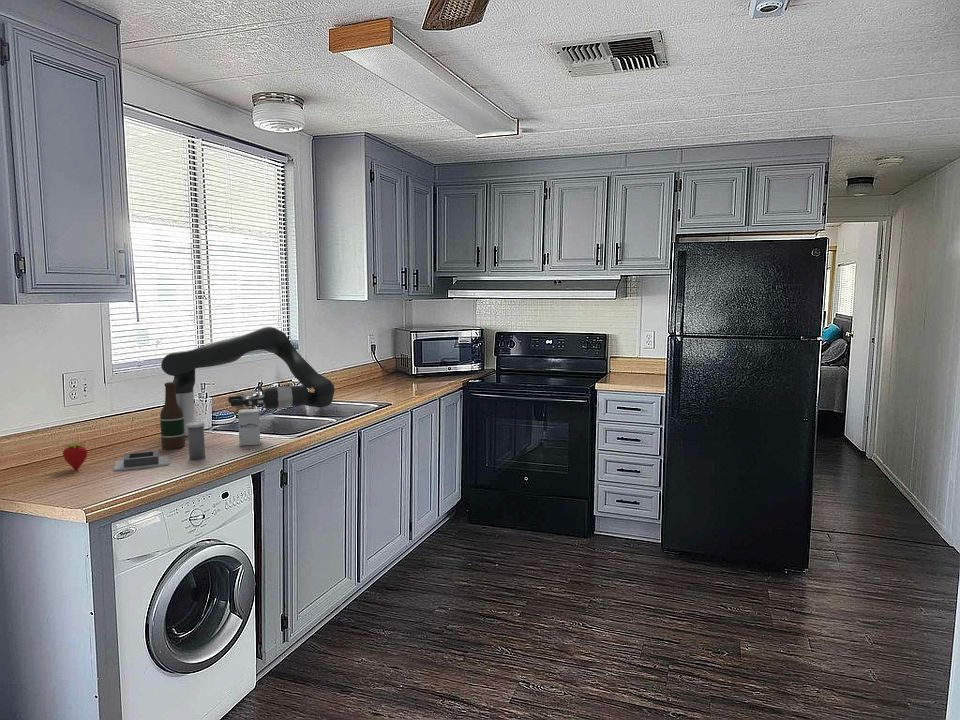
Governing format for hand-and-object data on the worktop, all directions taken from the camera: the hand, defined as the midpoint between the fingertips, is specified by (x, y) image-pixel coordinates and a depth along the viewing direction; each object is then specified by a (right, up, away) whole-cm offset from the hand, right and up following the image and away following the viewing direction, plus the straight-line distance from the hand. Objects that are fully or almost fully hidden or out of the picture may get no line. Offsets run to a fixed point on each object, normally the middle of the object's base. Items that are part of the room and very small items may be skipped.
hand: (229, 401), depth 235 cm
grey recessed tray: (-25, -20, -10) cm, 34 cm away
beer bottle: (-26, -18, +14) cm, 35 cm away
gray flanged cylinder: (-10, -19, -3) cm, 22 cm away
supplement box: (+1, -17, +19) cm, 26 cm away
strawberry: (-44, -21, -16) cm, 51 cm away
